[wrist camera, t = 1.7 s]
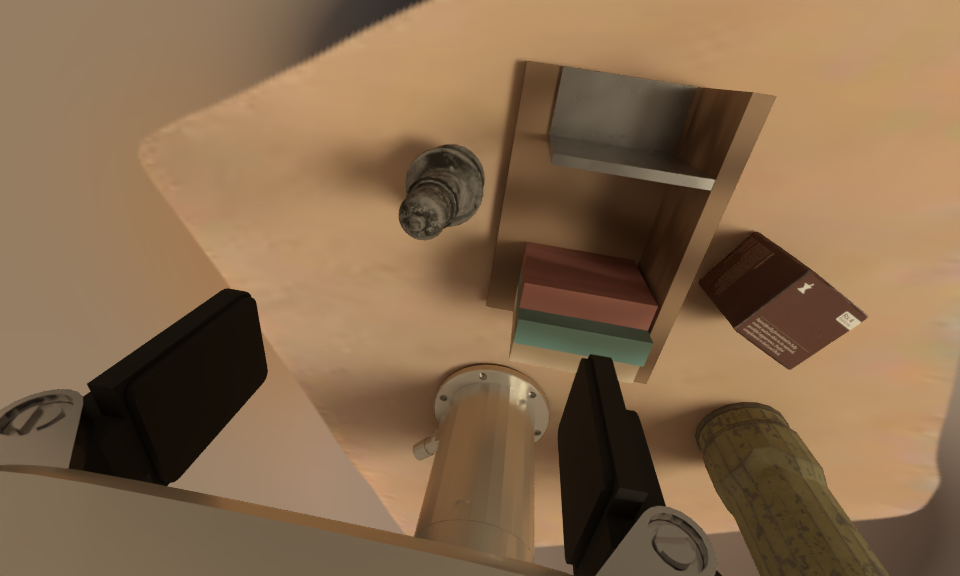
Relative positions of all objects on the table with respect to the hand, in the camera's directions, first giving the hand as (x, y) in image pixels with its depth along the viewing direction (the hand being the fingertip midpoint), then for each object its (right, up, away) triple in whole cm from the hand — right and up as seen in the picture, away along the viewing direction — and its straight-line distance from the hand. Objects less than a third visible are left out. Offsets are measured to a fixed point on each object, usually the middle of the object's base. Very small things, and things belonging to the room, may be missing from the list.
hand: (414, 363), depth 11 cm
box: (+25, +3, +22) cm, 34 cm away
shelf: (+10, +8, +21) cm, 25 cm away
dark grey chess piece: (0, +11, +22) cm, 24 cm away
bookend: (+12, +14, +17) cm, 25 cm away
